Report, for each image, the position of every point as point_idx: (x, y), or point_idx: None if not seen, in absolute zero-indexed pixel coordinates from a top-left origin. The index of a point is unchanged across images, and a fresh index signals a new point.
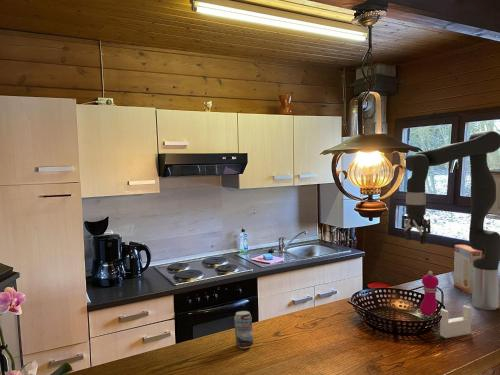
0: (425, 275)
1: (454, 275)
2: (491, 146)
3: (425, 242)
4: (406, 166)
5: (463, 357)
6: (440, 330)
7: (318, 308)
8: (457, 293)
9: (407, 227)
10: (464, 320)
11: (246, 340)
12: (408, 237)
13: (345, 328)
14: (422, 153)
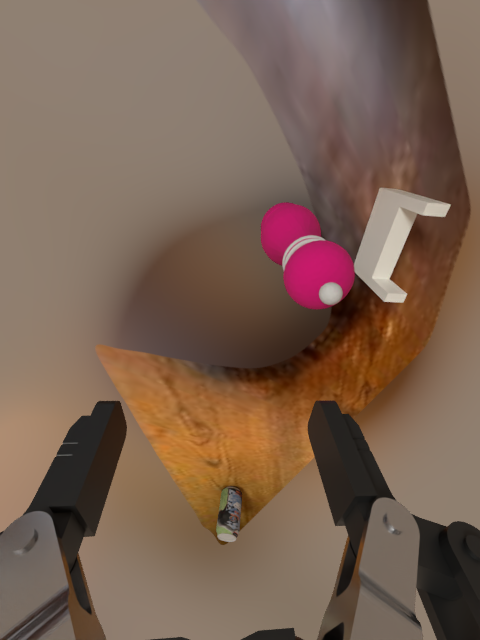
0: (309, 301)
1: None
2: None
3: (348, 417)
4: None
5: (428, 299)
6: (358, 274)
7: (132, 400)
8: None
9: (101, 627)
10: (412, 223)
11: (241, 502)
12: (115, 440)
13: (235, 397)
14: None
